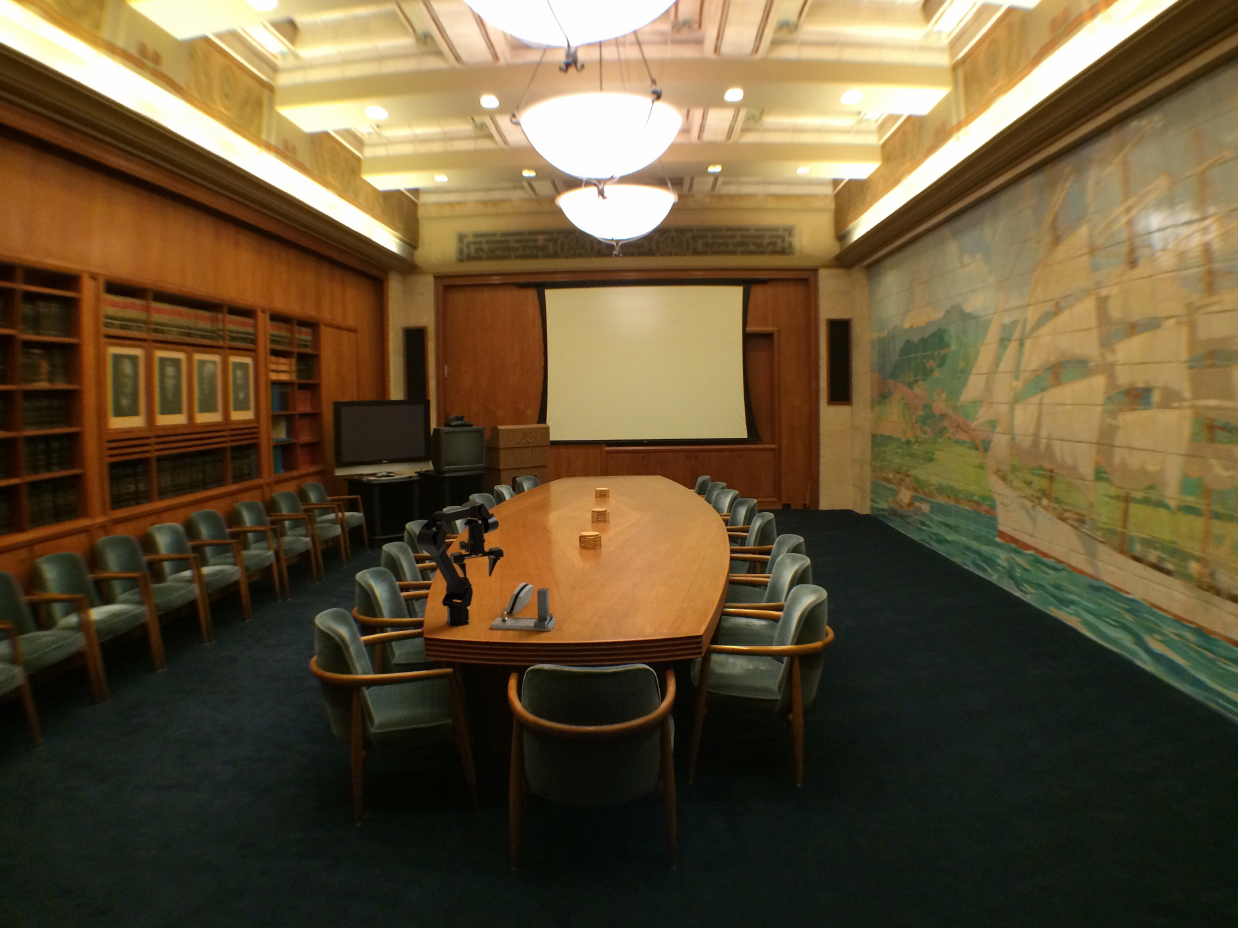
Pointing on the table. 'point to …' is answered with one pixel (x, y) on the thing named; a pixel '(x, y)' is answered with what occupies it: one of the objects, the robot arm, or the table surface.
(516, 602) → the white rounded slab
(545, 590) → the leg
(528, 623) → the bolt plate
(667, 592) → the table surface
